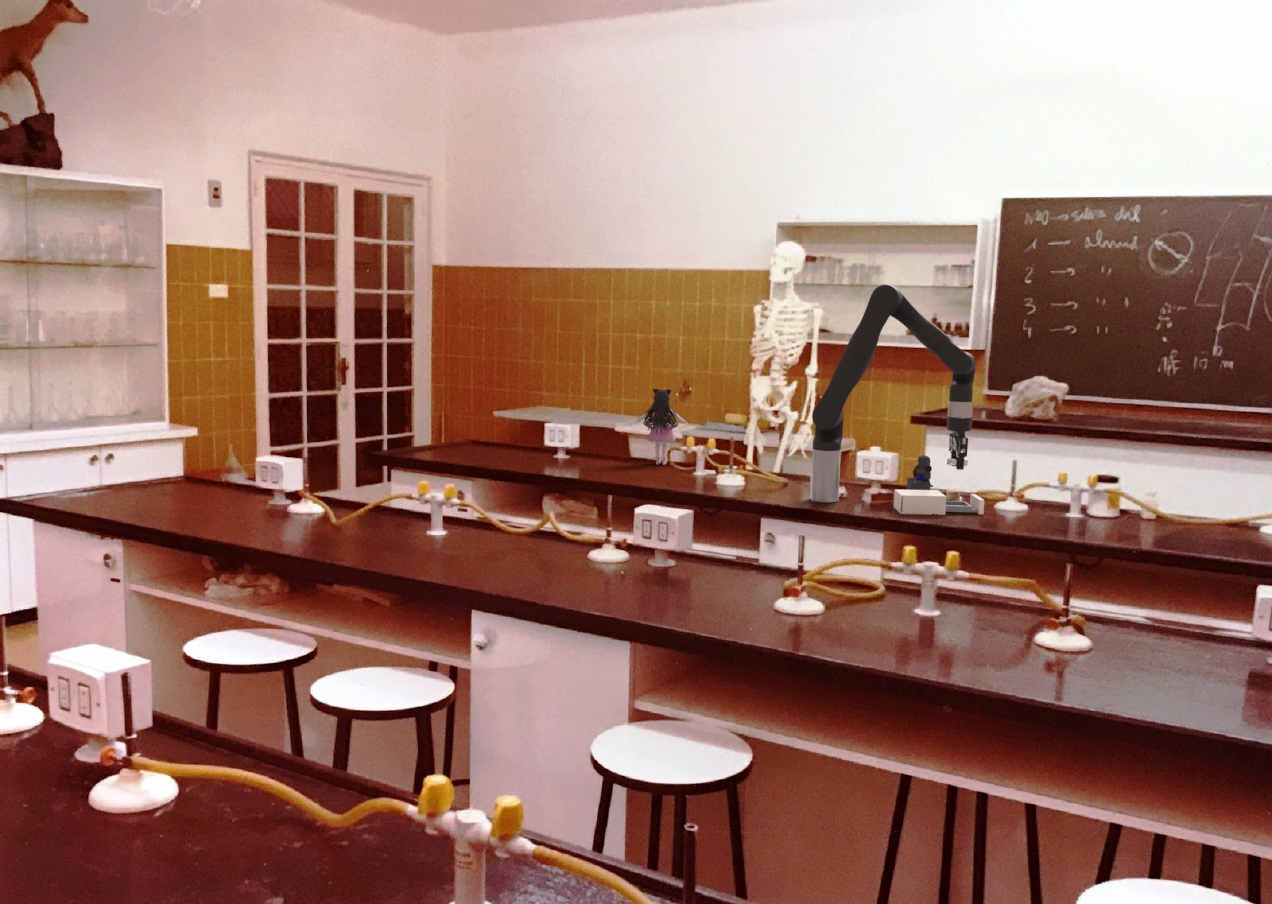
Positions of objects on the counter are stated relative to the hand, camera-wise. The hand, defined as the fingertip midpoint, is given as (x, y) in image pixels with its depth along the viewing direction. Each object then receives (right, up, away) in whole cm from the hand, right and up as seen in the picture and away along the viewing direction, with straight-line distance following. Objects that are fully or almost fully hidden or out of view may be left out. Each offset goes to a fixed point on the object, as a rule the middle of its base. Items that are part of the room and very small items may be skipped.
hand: (957, 467), depth 362 cm
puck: (0, +1, 0) cm, 1 cm away
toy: (-7, -11, +23) cm, 27 cm away
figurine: (-92, 0, +92) cm, 130 cm away
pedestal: (+2, -13, +11) cm, 17 cm away
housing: (-12, -14, +2) cm, 18 cm away
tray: (-1, -14, +2) cm, 14 cm away
